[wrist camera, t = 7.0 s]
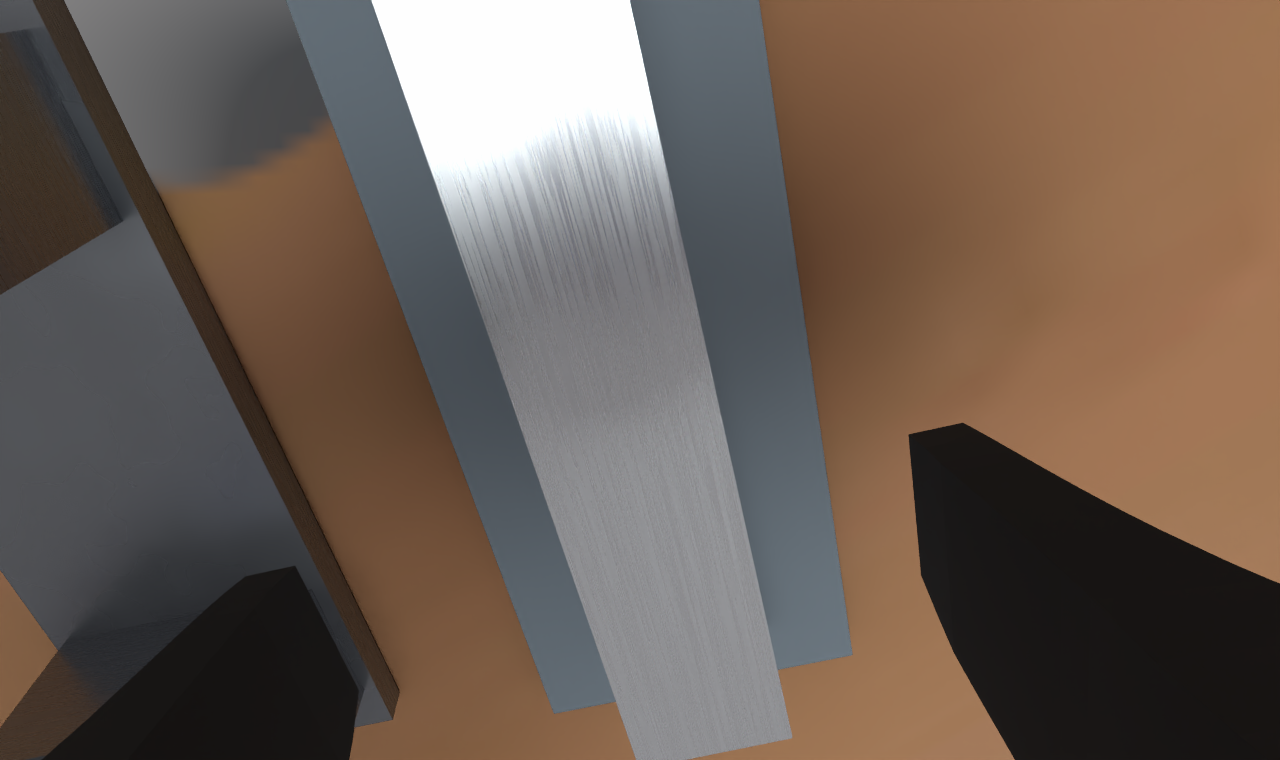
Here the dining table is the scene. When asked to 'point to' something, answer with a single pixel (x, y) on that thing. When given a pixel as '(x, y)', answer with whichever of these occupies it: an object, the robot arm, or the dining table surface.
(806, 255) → the dining table surface
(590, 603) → the rail
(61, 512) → the rack
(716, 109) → the mat
